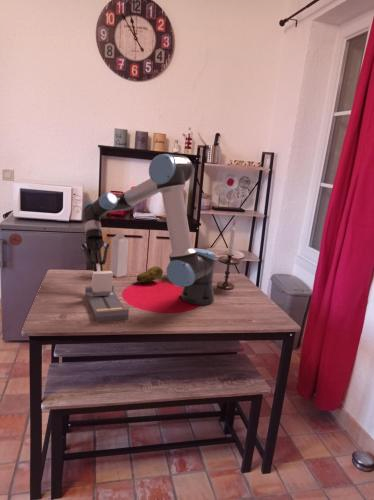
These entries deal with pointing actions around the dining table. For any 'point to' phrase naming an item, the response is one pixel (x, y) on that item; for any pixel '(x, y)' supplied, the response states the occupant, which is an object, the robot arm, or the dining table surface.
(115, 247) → the milk
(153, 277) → the potato
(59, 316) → the dining table surface
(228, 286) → the candlestick
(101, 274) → the fader knob
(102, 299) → the fader deck
